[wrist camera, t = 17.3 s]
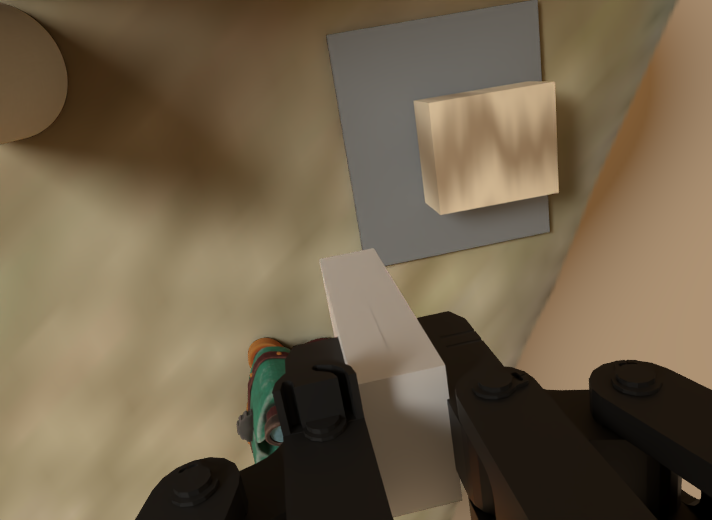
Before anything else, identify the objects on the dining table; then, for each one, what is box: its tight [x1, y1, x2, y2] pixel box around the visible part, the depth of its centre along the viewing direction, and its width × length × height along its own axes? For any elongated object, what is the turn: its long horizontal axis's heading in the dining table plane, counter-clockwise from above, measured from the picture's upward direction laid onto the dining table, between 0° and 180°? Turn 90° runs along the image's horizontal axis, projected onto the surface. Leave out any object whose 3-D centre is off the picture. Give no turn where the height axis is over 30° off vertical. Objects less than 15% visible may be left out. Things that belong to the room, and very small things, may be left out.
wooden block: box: [413, 81, 559, 215], centre depth 37 cm, size 7×4×8 cm
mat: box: [326, 0, 550, 266], centre depth 39 cm, size 16×14×1 cm
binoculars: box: [237, 338, 328, 464], centre depth 39 cm, size 9×11×10 cm
